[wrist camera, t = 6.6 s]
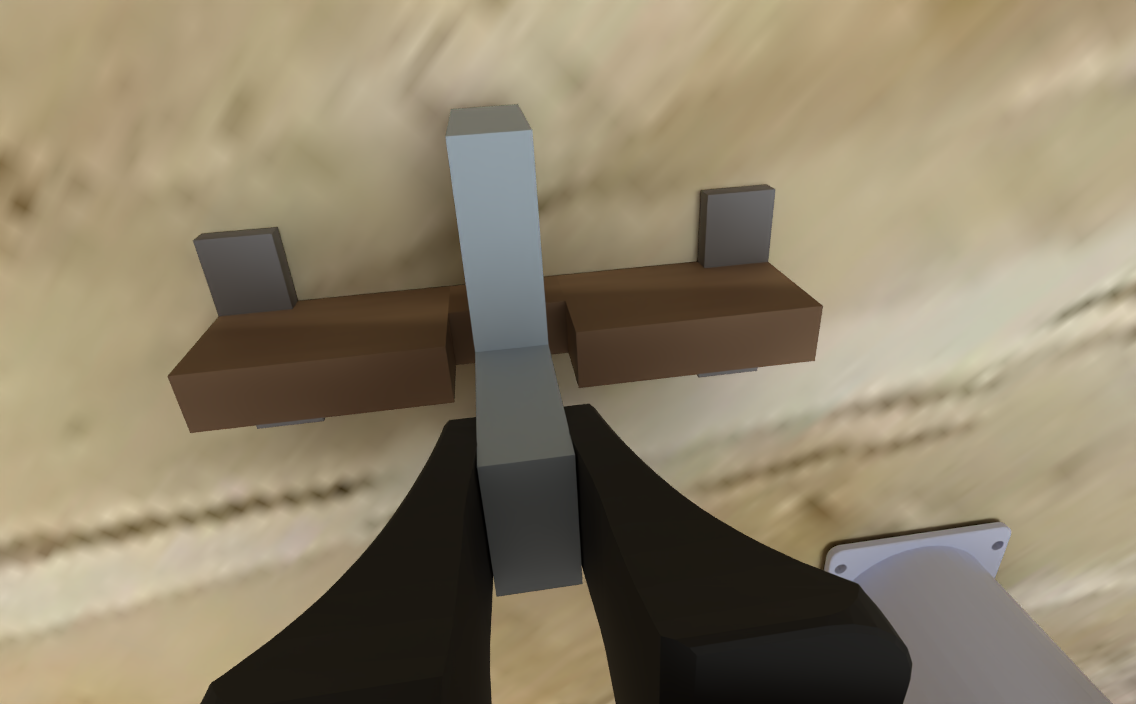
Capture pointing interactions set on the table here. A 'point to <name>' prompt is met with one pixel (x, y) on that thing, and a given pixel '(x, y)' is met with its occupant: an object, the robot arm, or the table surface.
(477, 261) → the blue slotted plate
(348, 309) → the walnut slotted plate
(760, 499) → the table surface
